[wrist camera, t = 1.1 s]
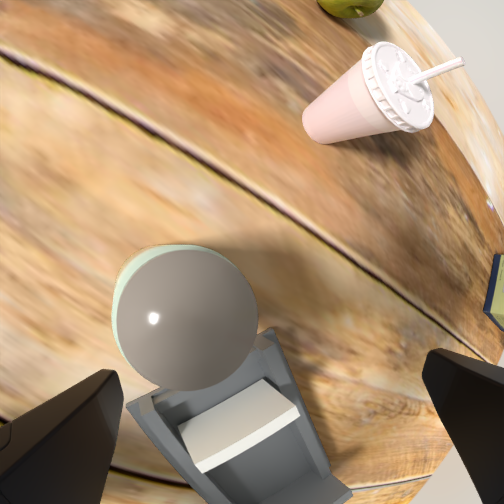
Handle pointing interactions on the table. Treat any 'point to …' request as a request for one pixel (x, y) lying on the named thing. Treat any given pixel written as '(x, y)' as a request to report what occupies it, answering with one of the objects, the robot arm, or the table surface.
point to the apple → (350, 7)
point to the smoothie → (375, 97)
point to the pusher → (236, 425)
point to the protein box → (496, 293)
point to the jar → (183, 316)
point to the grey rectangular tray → (258, 456)
